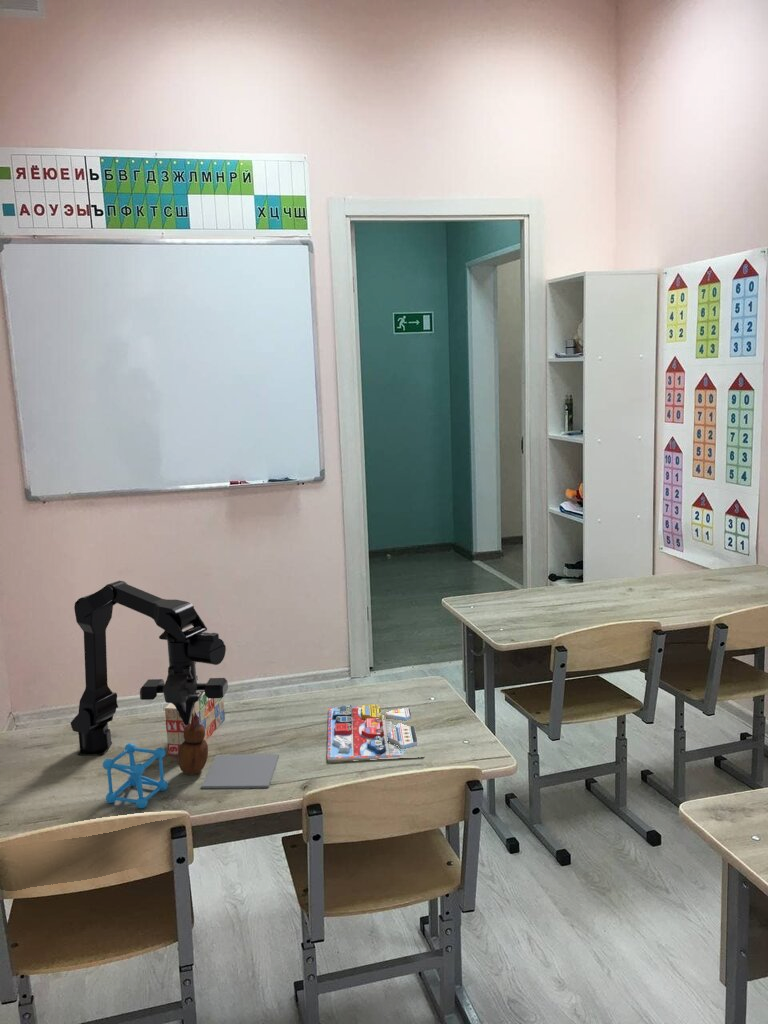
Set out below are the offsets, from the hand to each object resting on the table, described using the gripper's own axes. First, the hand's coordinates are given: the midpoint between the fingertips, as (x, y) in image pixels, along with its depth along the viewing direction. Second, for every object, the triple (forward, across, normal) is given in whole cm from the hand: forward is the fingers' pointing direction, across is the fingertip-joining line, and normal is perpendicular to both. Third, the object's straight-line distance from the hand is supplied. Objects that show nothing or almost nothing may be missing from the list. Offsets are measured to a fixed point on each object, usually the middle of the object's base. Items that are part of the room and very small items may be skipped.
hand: (187, 724), depth 190 cm
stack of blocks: (+12, -3, +19) cm, 23 cm away
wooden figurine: (+12, 0, 0) cm, 12 cm away
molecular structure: (+12, -9, -10) cm, 18 cm away
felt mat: (+12, +12, 0) cm, 17 cm away
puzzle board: (+13, +41, +20) cm, 48 cm away
